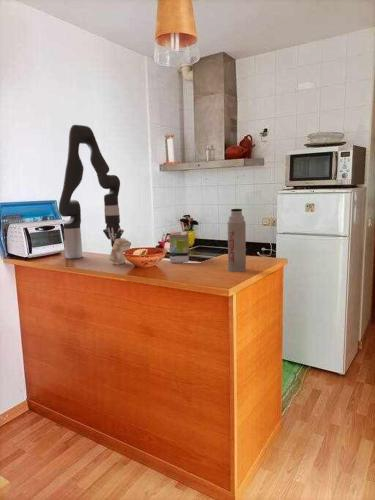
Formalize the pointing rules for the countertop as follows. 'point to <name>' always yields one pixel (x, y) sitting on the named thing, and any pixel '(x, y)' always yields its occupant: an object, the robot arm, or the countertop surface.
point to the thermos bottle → (236, 241)
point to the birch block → (119, 250)
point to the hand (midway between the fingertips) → (114, 247)
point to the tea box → (179, 247)
